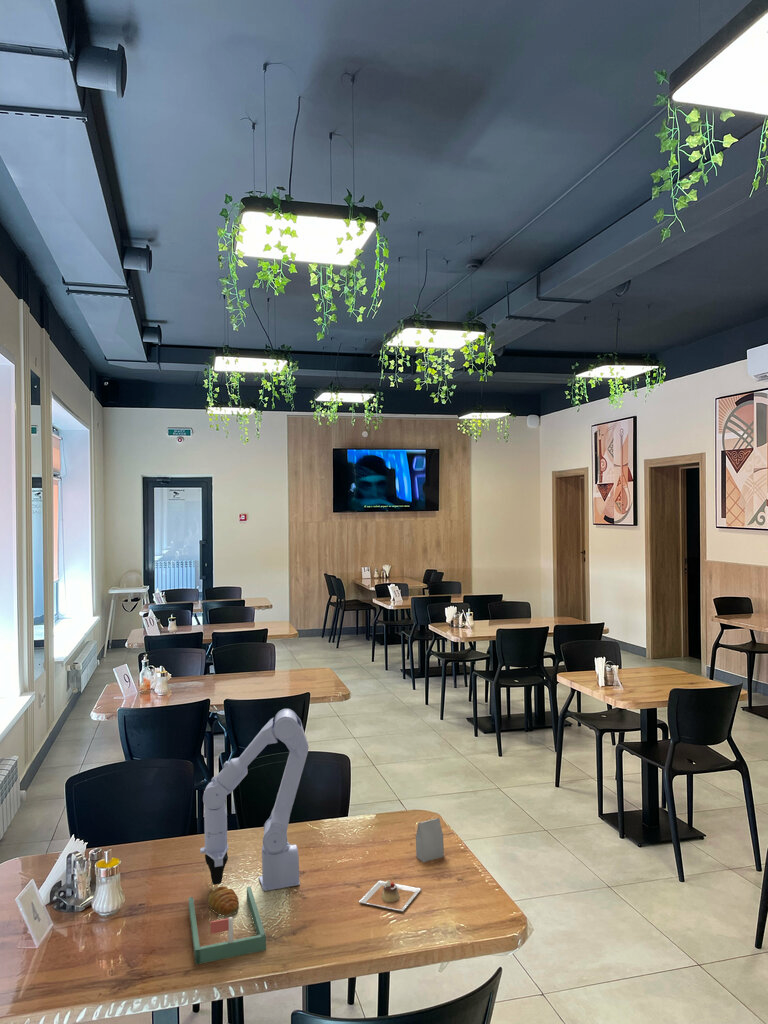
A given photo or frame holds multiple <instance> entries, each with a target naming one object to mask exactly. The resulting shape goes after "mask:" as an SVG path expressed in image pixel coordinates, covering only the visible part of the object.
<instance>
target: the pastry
mask: <svg viewBox="0 0 768 1024" xmlns="http://www.w3.org/2000/svg"><path fill="white" fill-rule="evenodd" d="M207 902H208V903H207V905H208V908H210V910H211V909H212V910H211V911H213V910H214V911H215V912H217V913H218V915H219V914H221V915H224V916H223V917H230V915H233V914H236V913H237V912H238V910H239V909H240V906H239V905H240V904H239V903H240V902H239V898H238V894H237V893H236V892H235V890H234V889H233V888H228V887H227V886H223V885H221V886H218V887H217V888H215V889H213V890H212V891H211V893H210V894H209V895H208V897H207ZM214 911H213V912H214ZM215 912H214V913H215ZM217 913H216V914H217ZM221 915H220V916H221Z"/></svg>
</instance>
